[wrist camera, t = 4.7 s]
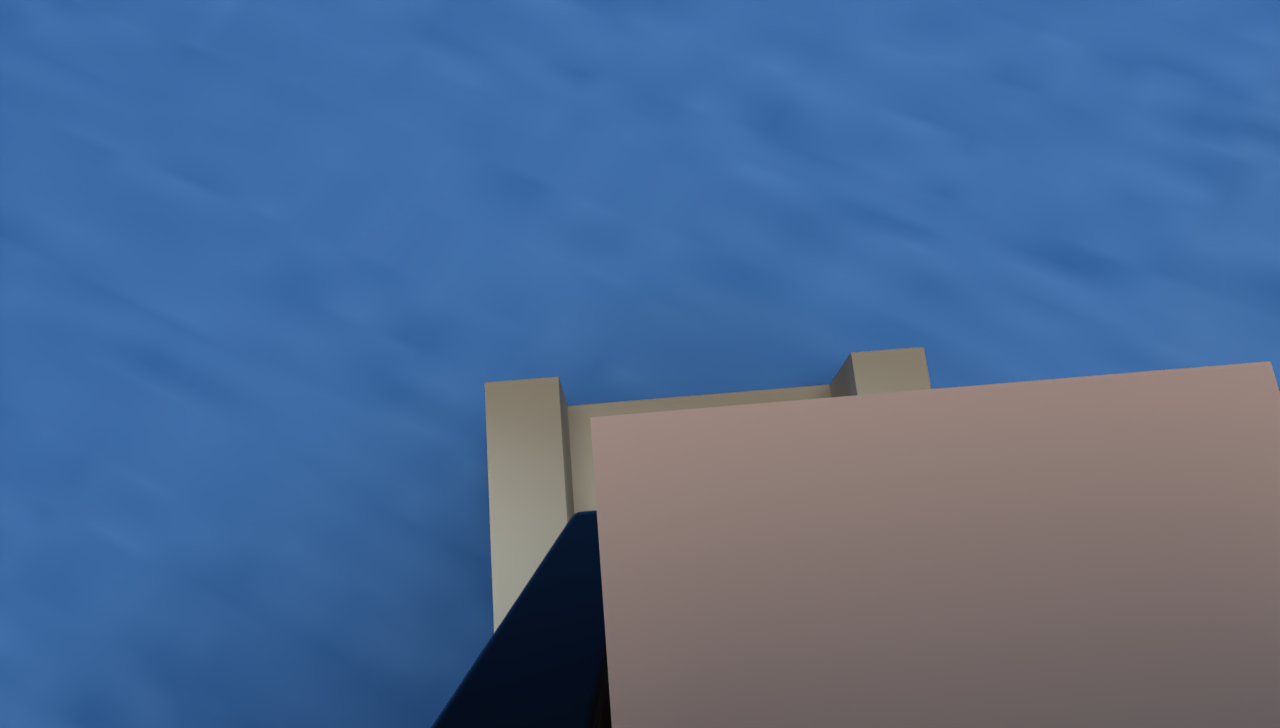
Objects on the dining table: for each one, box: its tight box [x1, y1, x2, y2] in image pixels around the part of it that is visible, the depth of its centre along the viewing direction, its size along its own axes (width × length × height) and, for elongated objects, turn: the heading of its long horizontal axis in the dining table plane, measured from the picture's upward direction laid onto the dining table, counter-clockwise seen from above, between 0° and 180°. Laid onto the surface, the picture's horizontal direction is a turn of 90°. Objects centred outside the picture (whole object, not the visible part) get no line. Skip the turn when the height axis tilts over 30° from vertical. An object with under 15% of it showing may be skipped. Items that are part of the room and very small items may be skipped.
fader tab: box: [590, 361, 1280, 728], centre depth 8 cm, size 5×3×11 cm, turn 5°
